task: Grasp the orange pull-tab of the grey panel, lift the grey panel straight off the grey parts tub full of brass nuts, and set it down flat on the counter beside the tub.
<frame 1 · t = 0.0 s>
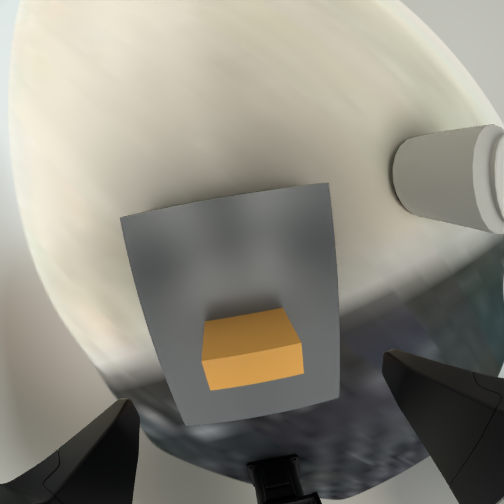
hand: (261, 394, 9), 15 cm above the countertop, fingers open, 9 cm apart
can: (416, 176, 23), on the countertop
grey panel: (244, 321, 19), point 4 cm above the countertop, touching tub
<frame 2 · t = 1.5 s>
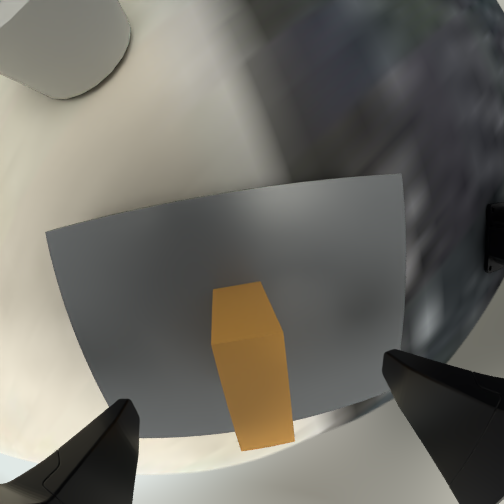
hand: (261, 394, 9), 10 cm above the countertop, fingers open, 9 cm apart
can: (85, 55, 13), on the countertop
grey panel: (243, 326, 13), point 4 cm above the countertop, touching tub
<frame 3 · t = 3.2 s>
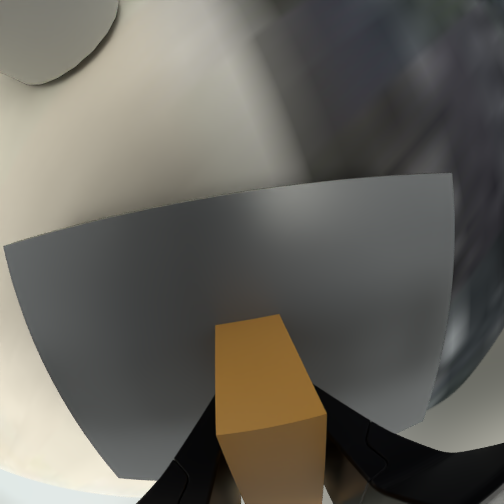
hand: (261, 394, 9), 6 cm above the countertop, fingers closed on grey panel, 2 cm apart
can: (66, 35, 10), on the countertop
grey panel: (254, 365, 10), point 4 cm above the countertop, touching gripper, tub
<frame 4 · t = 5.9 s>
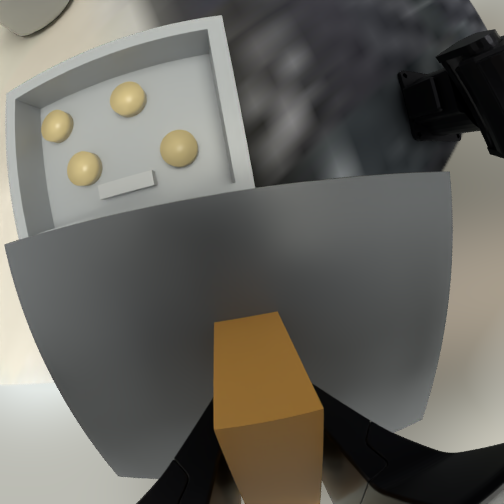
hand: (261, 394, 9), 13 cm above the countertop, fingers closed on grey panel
can: (46, 9, 14), on the countertop
tub: (125, 139, 18), on the countertop
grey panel: (253, 363, 10), point 11 cm above the countertop, touching gripper
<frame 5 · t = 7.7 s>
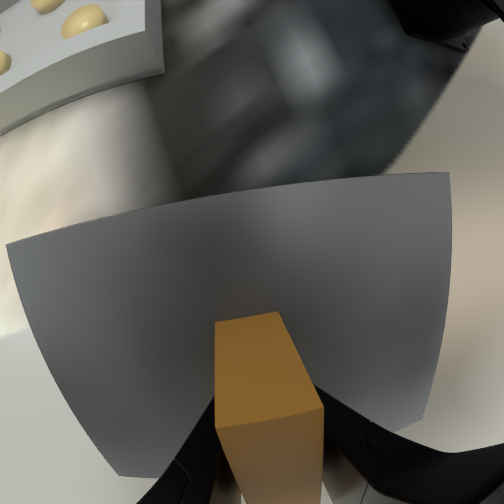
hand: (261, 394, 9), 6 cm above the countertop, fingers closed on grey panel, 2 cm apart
tub: (41, 37, 10), on the countertop
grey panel: (254, 362, 10), point 4 cm above the countertop, touching gripper
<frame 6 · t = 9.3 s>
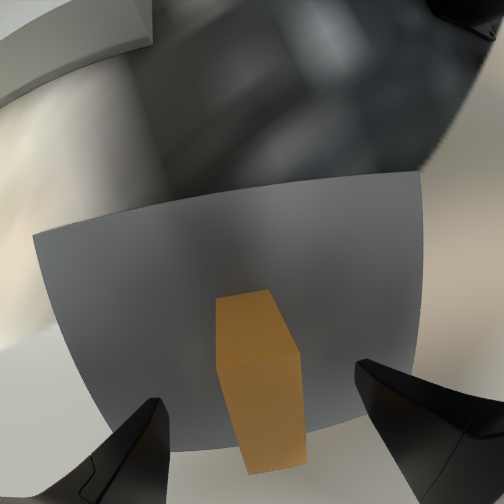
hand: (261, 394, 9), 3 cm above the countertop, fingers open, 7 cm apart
tub: (17, 17, 7), on the countertop
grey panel: (249, 337, 12), on the countertop
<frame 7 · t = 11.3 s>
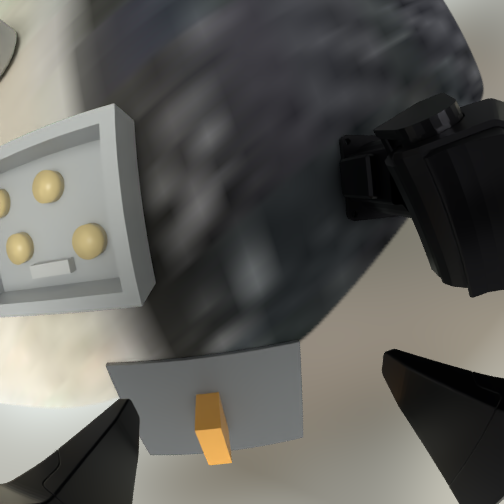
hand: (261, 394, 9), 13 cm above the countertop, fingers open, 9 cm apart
tub: (51, 220, 18), on the countertop
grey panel: (212, 405, 24), on the countertop
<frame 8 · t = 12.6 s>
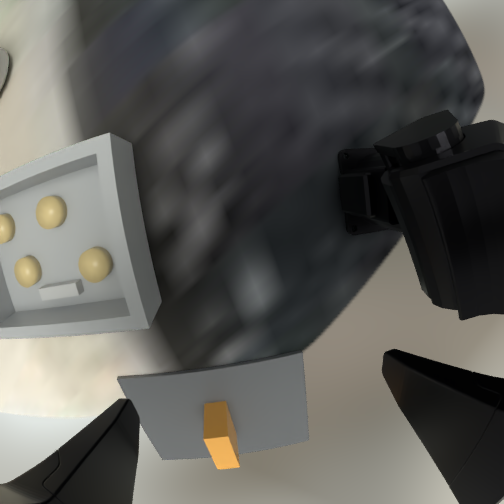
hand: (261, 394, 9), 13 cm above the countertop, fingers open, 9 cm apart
tub: (57, 243, 19), on the countertop
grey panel: (220, 412, 25), on the countertop
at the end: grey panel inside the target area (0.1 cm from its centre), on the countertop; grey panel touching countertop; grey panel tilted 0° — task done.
